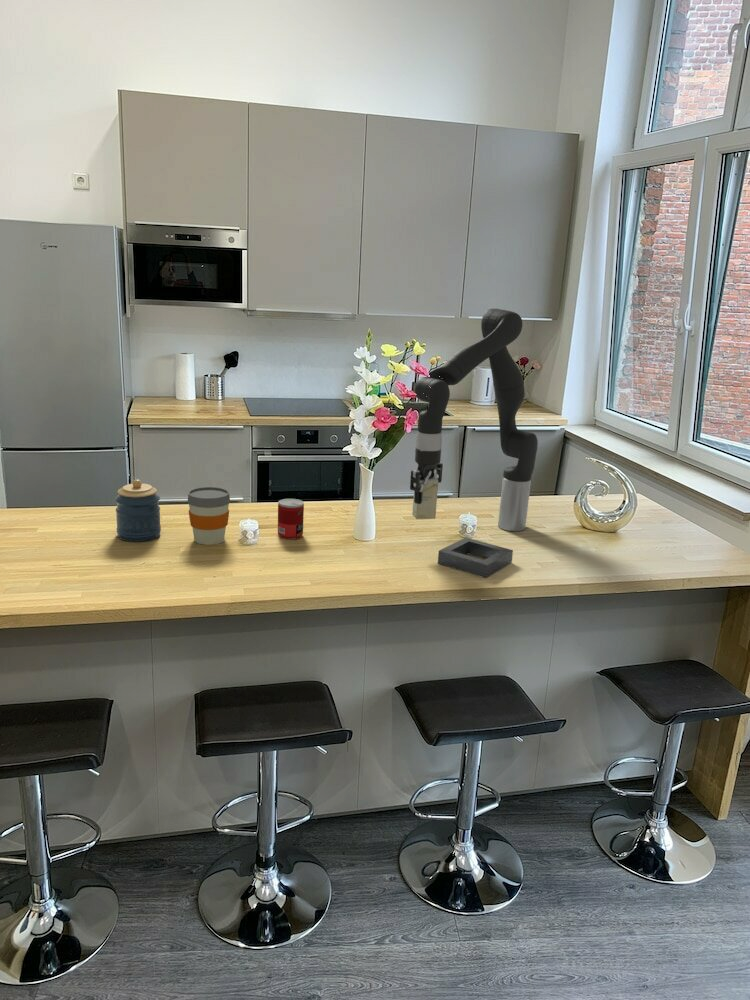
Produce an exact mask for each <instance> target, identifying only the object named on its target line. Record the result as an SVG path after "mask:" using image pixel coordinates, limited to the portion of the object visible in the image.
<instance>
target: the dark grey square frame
mask: <svg viewBox="0 0 750 1000" xmlns="http://www.w3.org/2000/svg"><path fill="white" fill-rule="evenodd" d="M470 555H472V556H470ZM513 555H514V550H513V549H510V548H506V547H503V546H498V545H496V544H492V543H488V542H485V541H484V542H483V541H481V540H478V539H473V538H471V537H463V538H462V539H460V540H458V541H455V542H453V543H452V544H450V545H448V546H446V547H443V548H442V549H440V550H438V556H437V565H442V566H445V567H448V568H451V569H454V570H457V571H460V572H465V573H467V574H471V575H474V576H478V577H481V578H484V579H487V578H489V577H490V576H493V575H494V574H496V573H497V572H499V571H502V569H504V568H506V567H507V566H508V565H510V564H512V562H513ZM473 556H475V557H473ZM477 557H479V558H477ZM481 558H482V559H481Z"/></svg>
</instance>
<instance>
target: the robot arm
mask: <svg viewBox="0 0 750 1000" xmlns="http://www.w3.org/2000/svg"><path fill="white" fill-rule="evenodd" d="M480 325H481V333H482V338H481V339H480V340H478V341H476V342H474V343H471V344H468V345H467V346H465V347H462V349H460V350H458V351H456V352H455V353H454V354H452V356H450V357H448V359H447V360H446V361H444V363H443V364H442V365H441V366H437V367H436V368H434V369H433V370H431V371H429V372H428V373H429V375H430V377H428V378H426V377H423V376H421V377H420V378H419V379H418V381H416V384H415V387H414V394H415V393H416V394H417V395H415V397H416V398H417V400H420V401H422V402H424V403H428V407H427V409H425V410H422V411H420V412H419V414H418V417H417V432H416V436H415V437H416V438H415V453H414V461H415V463H416V464H417V468H416V470H414V469H412V470H411V471H410V482H409V483H410V484H409V490H411V491H413V492H414V491H415V496H414V495H413V498H414V502H415V503H417V504H421V503H422V490H423V488H424V486H425V485H426V484H427V481H428V480H429V479H431V478H433V477H434V478H437V479H438V484H441V483H442V480H443V467H444V464H443V463H442V462H441V461H442V460H441V458H442V445H443V444H442V443H443V438H442V437H443V436H442V434H443V433H442V431H443V418H444V415H445V413H446V411H447V410H446V409H447V407H448V404H449V401H450V395H451V394H450V393H451V392H450V387H449V386H455V385H458V384H460V382H461V381H463V379H464V378H466V376H467V375H469V374H470V373H471V372H472V371H473V370H474V369H475V368H477V367H478V366H479V365H480V364H482V363H483V362H484V361H486V360H487V359H488V360H489V366H490V371H491V376H492V381H493V383H492V384H493V389H494V391H493V392H494V396H495V400H496V406H497V413H498V414H497V415H498V420H499V421H498V422H499V439H500V441H499V442H500V447H501V451H502V453H503V454H504V455H505V456H507V457H510V458H515V459H517V463H516V465H515V466H513V465H512V466H507V467H505V468H504V469H503V474H502V481H501V482H502V483H501V493H500V503H499V512H498V513H499V514H498V521H497V527H498V528H499V529H502V530H504V531H508V532H523V531H524V530H526V526H527V525H526V524H527V518H528V517H527V516H528V510H529V500H530V491H531V482H532V476H533V473H534V471H535V463H536V458H537V452H538V445H539V443H538V438H537V435H536V434H535V433H533V432H530V431H526V430H522V429H521V430H520V429H518V428H517V427H518V426H517V423H516V416H517V412H518V411H519V409H520V407H521V406H522V403H523V402H524V399H525V395H526V394H525V393H526V392H525V391H526V390H525V386H524V379H523V375H522V372H521V370H520V368H519V366H518V365H517V363H516V361H515V360H514V359H513V357H512V355H511V354H510V352H509V350H508V348H507V346H509V345H510V344H512V343H513V342H514V341H516V339H518V338H519V336H520V335H521V333H522V330H523V319H522V316H520V314H518V313H517V312H515V311H511V310H507V309H502V308H489V309H487V310H486V311H485V312H484V313H483V315H482V318H481V324H480ZM439 376H440V377H439ZM441 378H443V379H441ZM429 386H430V387H431V388H430V387H429ZM423 393H424V394H423ZM426 396H427V397H426ZM420 480H424V481H420ZM414 484H415V485H414ZM420 484H421V486H420V488H419V485H420Z"/></svg>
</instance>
